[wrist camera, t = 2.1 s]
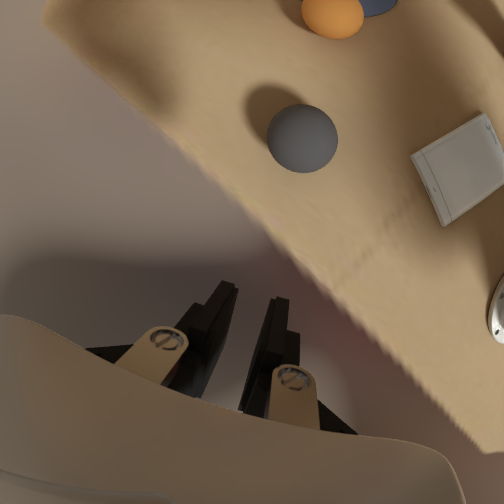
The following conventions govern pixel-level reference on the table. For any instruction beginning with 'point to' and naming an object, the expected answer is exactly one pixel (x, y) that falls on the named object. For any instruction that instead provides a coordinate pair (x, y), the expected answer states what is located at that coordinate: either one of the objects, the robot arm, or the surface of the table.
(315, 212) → the table surface
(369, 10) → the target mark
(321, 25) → the object ball
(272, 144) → the gray ball
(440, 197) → the hard drive
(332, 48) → the table surface
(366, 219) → the table surface
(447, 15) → the table surface
